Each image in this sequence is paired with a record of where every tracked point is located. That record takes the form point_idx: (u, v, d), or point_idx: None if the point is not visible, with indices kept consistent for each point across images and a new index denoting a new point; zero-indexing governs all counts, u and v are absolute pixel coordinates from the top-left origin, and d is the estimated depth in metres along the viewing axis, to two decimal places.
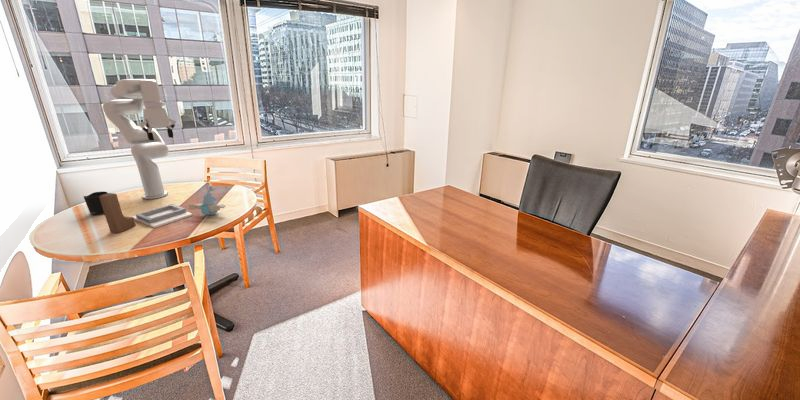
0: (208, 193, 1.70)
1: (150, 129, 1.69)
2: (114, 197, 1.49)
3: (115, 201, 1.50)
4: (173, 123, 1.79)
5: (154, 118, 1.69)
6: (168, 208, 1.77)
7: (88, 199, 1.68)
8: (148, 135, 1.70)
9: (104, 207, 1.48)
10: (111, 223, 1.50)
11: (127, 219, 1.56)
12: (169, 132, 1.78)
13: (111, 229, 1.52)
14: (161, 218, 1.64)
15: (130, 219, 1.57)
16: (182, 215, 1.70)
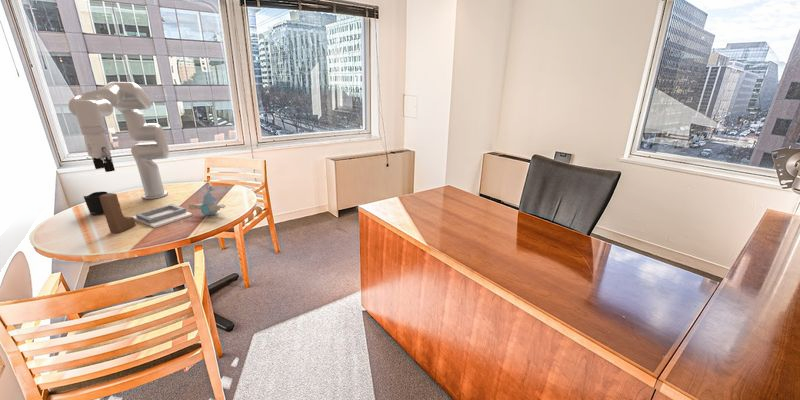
0: (208, 193, 1.70)
1: None
2: (114, 197, 1.49)
3: (115, 201, 1.50)
4: None
5: None
6: (168, 208, 1.77)
7: (88, 199, 1.68)
8: (109, 165, 1.43)
9: (104, 207, 1.48)
10: (111, 223, 1.50)
11: (127, 219, 1.56)
12: (99, 162, 1.48)
13: (111, 229, 1.52)
14: (161, 218, 1.64)
15: (130, 219, 1.57)
16: (182, 215, 1.70)
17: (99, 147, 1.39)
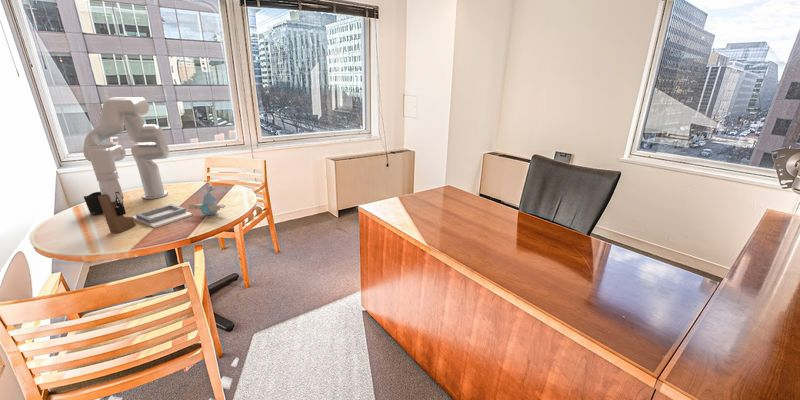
0: (208, 193, 1.70)
1: None
2: None
3: None
4: None
5: None
6: (168, 208, 1.77)
7: (88, 199, 1.68)
8: (121, 210, 1.51)
9: (103, 207, 1.48)
10: (111, 223, 1.50)
11: (127, 219, 1.56)
12: None
13: (111, 229, 1.52)
14: (161, 218, 1.64)
15: (130, 219, 1.57)
16: (182, 215, 1.70)
17: (113, 192, 1.46)
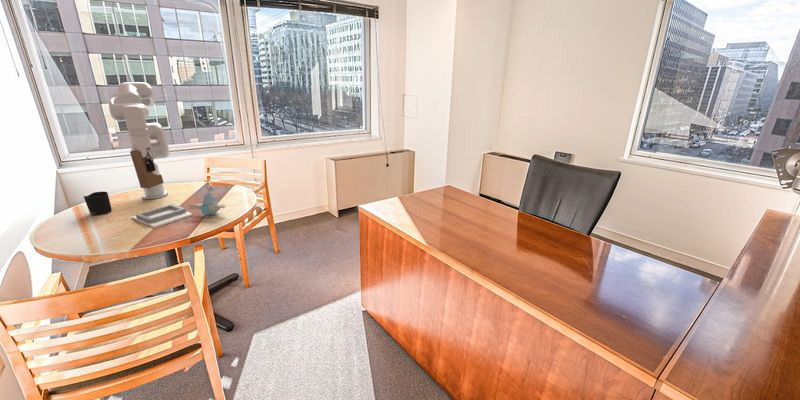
0: (208, 193, 1.70)
1: None
2: None
3: None
4: None
5: None
6: (168, 208, 1.77)
7: (88, 199, 1.68)
8: (151, 166, 1.59)
9: (135, 162, 1.56)
10: (142, 178, 1.58)
11: (156, 176, 1.63)
12: None
13: (141, 184, 1.60)
14: (161, 218, 1.64)
15: (158, 176, 1.65)
16: (182, 215, 1.70)
17: (144, 148, 1.54)
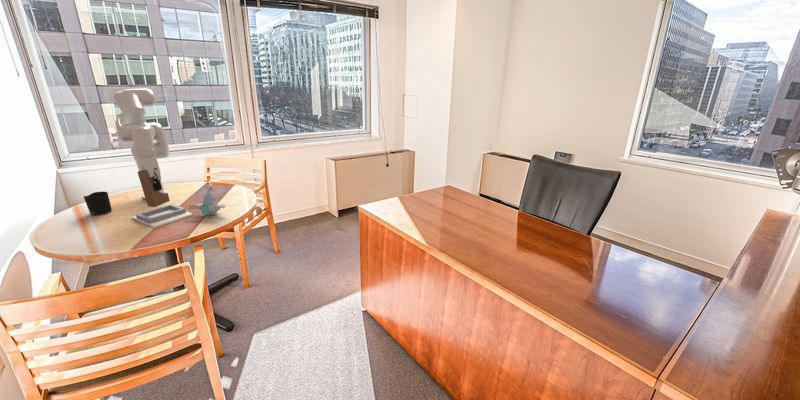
0: (208, 193, 1.70)
1: None
2: None
3: None
4: None
5: None
6: (168, 208, 1.77)
7: (88, 199, 1.68)
8: (158, 185, 1.63)
9: (142, 182, 1.60)
10: (149, 197, 1.62)
11: (162, 194, 1.67)
12: None
13: (148, 203, 1.63)
14: (161, 218, 1.64)
15: (165, 194, 1.69)
16: (182, 215, 1.70)
17: (152, 168, 1.58)
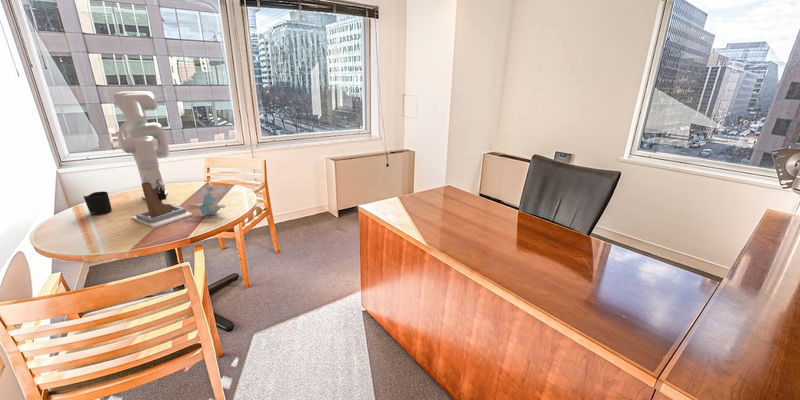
0: (208, 193, 1.70)
1: None
2: None
3: None
4: None
5: None
6: None
7: (88, 199, 1.68)
8: (162, 195, 1.63)
9: (146, 194, 1.62)
10: (152, 209, 1.64)
11: (165, 205, 1.69)
12: None
13: (151, 214, 1.66)
14: (161, 218, 1.64)
15: (167, 206, 1.71)
16: (182, 215, 1.70)
17: (154, 179, 1.60)
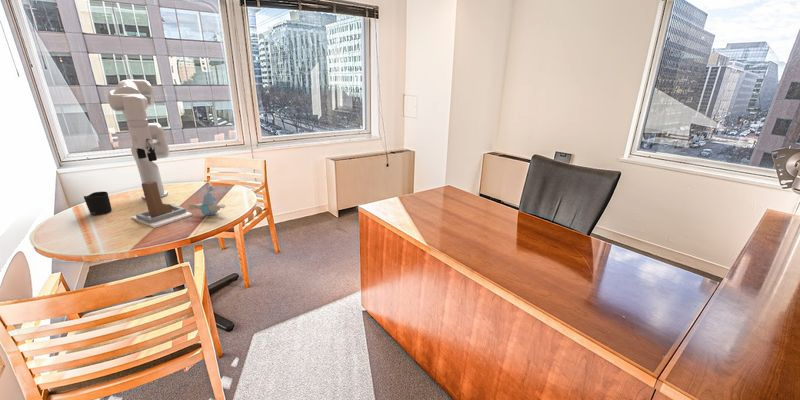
0: (208, 193, 1.70)
1: None
2: (154, 185, 1.63)
3: (155, 188, 1.63)
4: None
5: None
6: None
7: (88, 199, 1.68)
8: (153, 155, 1.57)
9: (146, 194, 1.62)
10: (152, 209, 1.64)
11: (165, 205, 1.69)
12: (142, 152, 1.61)
13: (151, 214, 1.66)
14: (161, 218, 1.64)
15: (167, 206, 1.71)
16: (182, 215, 1.70)
17: (144, 138, 1.53)
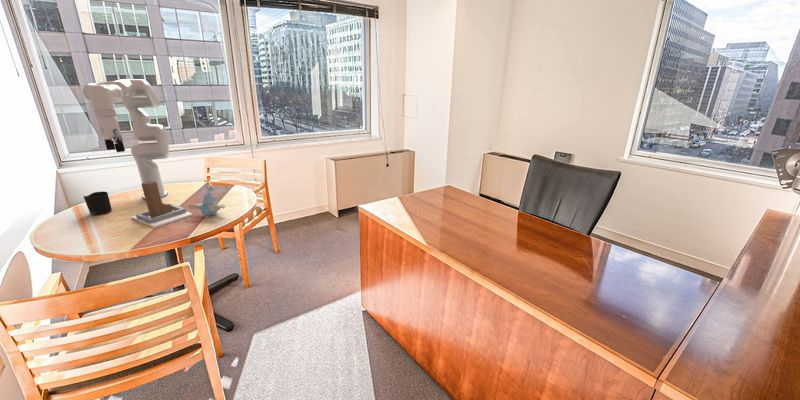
0: (208, 193, 1.70)
1: None
2: (154, 185, 1.63)
3: (155, 188, 1.63)
4: None
5: None
6: None
7: (88, 199, 1.68)
8: (120, 146, 1.55)
9: (146, 194, 1.62)
10: (152, 209, 1.64)
11: (165, 205, 1.69)
12: (110, 143, 1.60)
13: (151, 214, 1.66)
14: (161, 218, 1.64)
15: (167, 206, 1.71)
16: (182, 215, 1.70)
17: (111, 129, 1.51)
